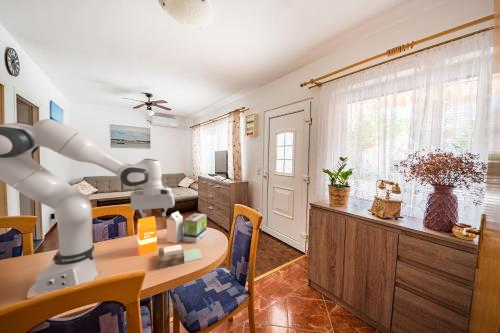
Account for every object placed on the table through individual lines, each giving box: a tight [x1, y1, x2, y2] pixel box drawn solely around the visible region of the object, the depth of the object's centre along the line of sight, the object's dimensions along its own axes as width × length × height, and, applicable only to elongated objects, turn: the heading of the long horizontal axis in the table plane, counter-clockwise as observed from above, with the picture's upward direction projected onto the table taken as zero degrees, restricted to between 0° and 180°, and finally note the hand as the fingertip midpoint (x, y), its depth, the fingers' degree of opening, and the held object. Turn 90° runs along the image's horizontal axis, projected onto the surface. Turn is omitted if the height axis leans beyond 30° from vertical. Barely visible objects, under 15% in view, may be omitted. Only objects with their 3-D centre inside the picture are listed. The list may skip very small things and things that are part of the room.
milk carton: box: [166, 210, 184, 244], centre depth 125 cm, size 7×7×19 cm
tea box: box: [182, 213, 208, 244], centre depth 130 cm, size 15×10×15 cm, turn 168°
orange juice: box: [136, 215, 158, 256], centre depth 112 cm, size 8×9×20 cm
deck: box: [158, 247, 185, 270], centre depth 103 cm, size 12×14×4 cm
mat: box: [183, 247, 204, 263], centre depth 108 cm, size 10×12×1 cm
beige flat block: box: [163, 243, 183, 256], centre depth 103 cm, size 9×6×2 cm, turn 116°
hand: (153, 216), depth 98 cm, fingers open, 8 cm apart
